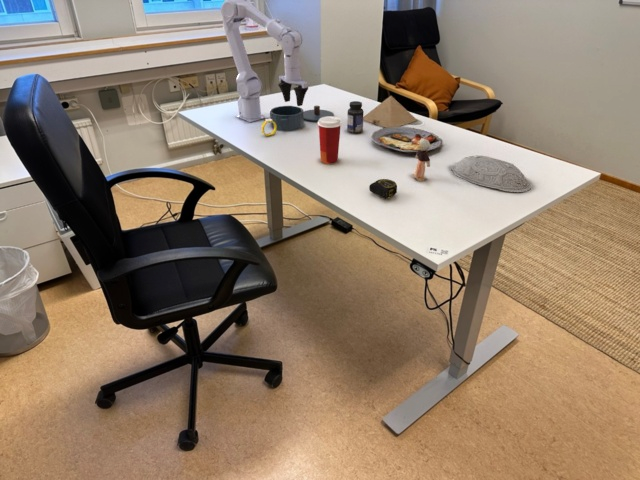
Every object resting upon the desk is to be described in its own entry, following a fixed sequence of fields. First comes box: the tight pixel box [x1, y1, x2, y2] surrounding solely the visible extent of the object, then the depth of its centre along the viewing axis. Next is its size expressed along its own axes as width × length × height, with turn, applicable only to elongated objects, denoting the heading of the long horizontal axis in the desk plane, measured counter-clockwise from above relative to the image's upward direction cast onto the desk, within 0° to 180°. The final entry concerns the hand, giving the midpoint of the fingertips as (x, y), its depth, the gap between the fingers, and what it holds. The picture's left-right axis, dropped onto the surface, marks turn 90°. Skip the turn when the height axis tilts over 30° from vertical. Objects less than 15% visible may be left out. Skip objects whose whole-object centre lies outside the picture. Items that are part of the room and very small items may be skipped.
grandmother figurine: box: [411, 139, 431, 182], centre depth 134 cm, size 8×4×13 cm, turn 29°
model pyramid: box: [363, 95, 418, 128], centre depth 182 cm, size 17×17×10 cm
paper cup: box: [317, 116, 342, 165], centre depth 145 cm, size 8×8×14 cm
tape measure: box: [368, 178, 398, 200], centre depth 127 cm, size 7×7×4 cm
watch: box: [260, 118, 277, 137], centre depth 168 cm, size 6×3×6 cm, turn 127°
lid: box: [303, 105, 335, 122], centre depth 187 cm, size 14×14×4 cm
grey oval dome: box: [450, 154, 532, 193], centre depth 137 cm, size 16×25×7 cm, turn 44°
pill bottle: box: [346, 100, 364, 135], centre depth 170 cm, size 6×6×11 cm
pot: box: [269, 105, 305, 132], centre depth 177 cm, size 13×18×6 cm
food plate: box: [370, 126, 443, 154], centre depth 161 cm, size 25×23×4 cm
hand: (293, 103), depth 174 cm, fingers open, 7 cm apart
